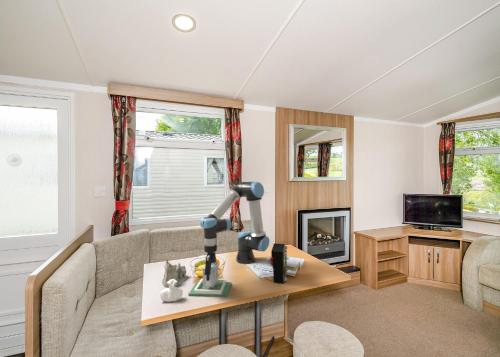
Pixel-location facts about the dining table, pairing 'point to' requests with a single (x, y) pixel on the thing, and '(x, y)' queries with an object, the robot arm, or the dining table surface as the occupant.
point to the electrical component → (279, 262)
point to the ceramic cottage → (174, 273)
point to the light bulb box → (212, 274)
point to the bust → (171, 292)
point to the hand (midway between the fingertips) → (210, 281)
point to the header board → (211, 289)
